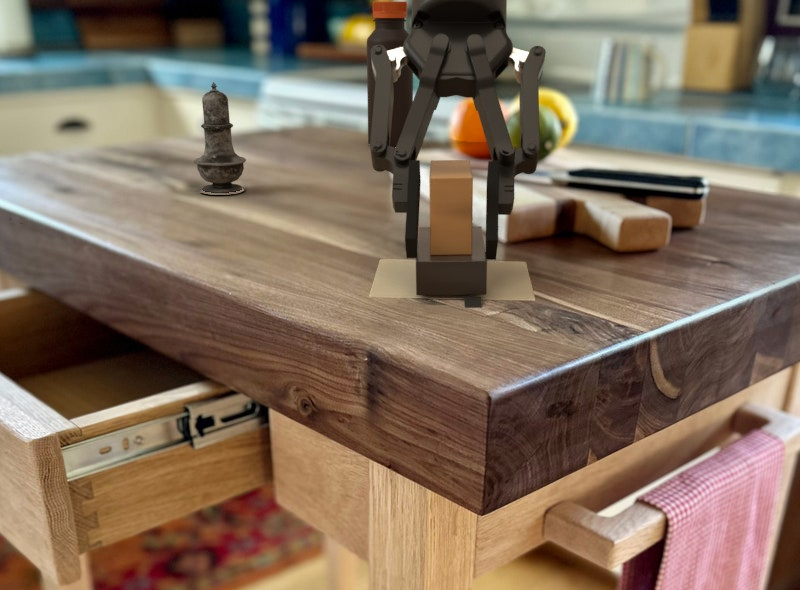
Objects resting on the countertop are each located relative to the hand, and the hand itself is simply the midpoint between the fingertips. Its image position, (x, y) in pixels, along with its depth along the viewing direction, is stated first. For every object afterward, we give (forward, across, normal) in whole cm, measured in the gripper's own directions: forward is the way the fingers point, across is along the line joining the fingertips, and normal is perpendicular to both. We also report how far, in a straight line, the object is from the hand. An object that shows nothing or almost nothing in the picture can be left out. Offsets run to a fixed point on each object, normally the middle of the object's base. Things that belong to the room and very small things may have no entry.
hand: (451, 248), depth 62 cm
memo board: (0, 0, -6) cm, 6 cm away
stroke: (+5, -2, 0) cm, 6 cm away
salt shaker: (-25, +27, -32) cm, 49 cm away
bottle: (-51, +10, -57) cm, 77 cm away
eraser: (-1, 0, -5) cm, 5 cm away
